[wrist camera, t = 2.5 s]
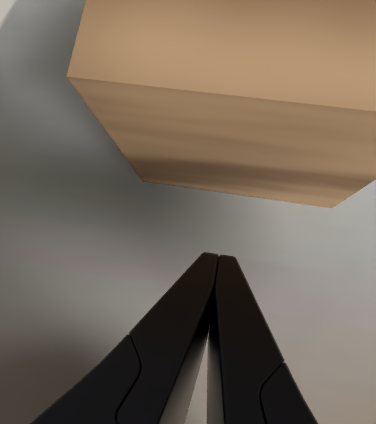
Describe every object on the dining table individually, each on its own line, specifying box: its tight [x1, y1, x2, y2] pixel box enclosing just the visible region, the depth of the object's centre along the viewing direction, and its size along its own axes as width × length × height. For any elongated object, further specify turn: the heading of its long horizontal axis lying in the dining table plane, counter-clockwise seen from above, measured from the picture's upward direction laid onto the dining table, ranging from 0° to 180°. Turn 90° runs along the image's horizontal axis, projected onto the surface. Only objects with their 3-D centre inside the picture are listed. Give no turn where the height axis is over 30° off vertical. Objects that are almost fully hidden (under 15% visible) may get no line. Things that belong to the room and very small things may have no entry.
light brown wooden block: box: [66, 0, 376, 208], centre depth 14 cm, size 5×10×10 cm, turn 80°
